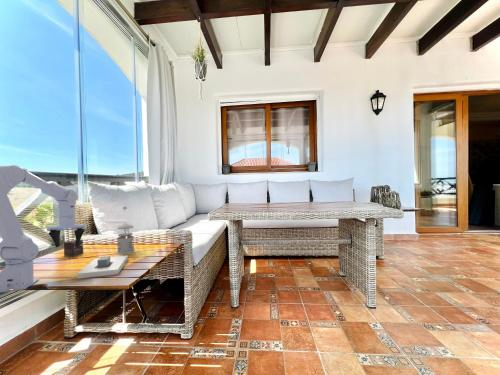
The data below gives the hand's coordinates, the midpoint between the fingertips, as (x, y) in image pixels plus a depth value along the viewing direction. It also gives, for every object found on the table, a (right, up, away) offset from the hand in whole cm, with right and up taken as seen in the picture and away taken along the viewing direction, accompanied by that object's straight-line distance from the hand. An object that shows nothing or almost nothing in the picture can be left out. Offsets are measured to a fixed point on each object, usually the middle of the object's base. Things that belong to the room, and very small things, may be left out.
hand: (67, 245), depth 106 cm
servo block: (+19, -9, -4) cm, 22 cm away
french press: (+14, -9, +23) cm, 29 cm away
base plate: (+19, -9, -3) cm, 21 cm away
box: (-12, -10, +19) cm, 25 cm away
